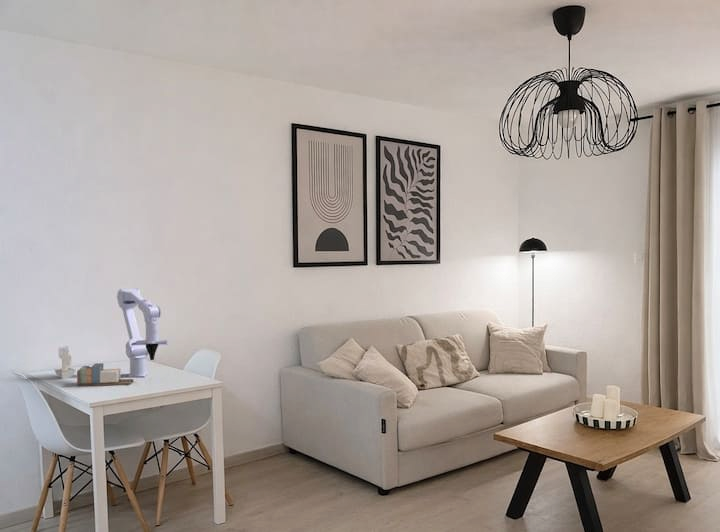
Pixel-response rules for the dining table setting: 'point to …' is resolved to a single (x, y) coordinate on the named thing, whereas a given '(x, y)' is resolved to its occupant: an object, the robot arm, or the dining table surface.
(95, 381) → the tall grey-blue block
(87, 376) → the rack
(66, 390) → the dining table surface
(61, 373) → the figurine
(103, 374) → the bookend
